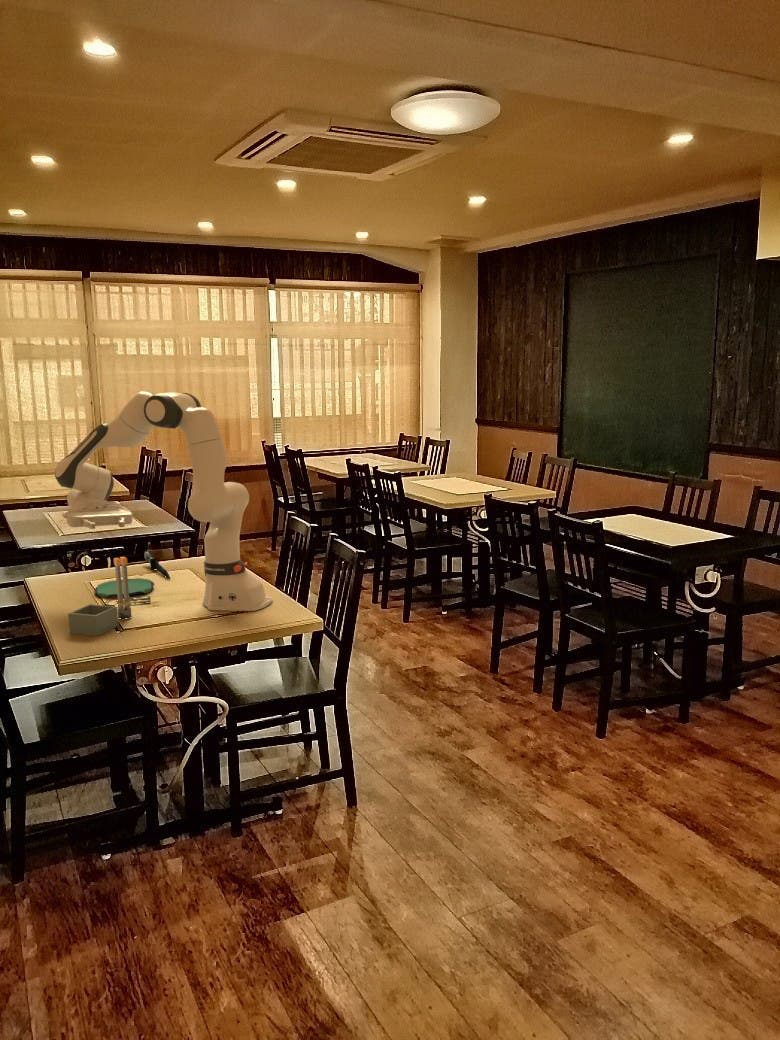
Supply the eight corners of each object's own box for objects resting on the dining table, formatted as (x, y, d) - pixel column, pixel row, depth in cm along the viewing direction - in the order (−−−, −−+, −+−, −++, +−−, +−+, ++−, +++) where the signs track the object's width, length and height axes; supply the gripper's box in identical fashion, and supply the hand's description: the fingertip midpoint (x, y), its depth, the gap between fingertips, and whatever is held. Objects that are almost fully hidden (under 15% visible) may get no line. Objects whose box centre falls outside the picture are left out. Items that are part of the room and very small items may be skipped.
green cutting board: (153, 581, 290) (153, 575, 289) (157, 605, 262) (156, 598, 261) (95, 587, 284) (94, 581, 283) (93, 612, 256) (92, 605, 255)
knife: (143, 561, 315) (143, 550, 314) (151, 560, 317) (150, 549, 315) (163, 586, 290) (162, 574, 288) (171, 585, 291) (171, 573, 290)
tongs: (129, 615, 249) (124, 556, 246) (133, 618, 246) (128, 558, 242) (116, 617, 247) (111, 557, 243) (120, 620, 244) (115, 560, 240)
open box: (118, 625, 239) (116, 606, 238) (97, 636, 230) (96, 616, 229) (91, 623, 242) (89, 604, 240) (69, 633, 233) (68, 613, 231)
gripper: (60, 504, 255) (75, 517, 245) (123, 501, 268) (139, 514, 258) (59, 522, 257) (73, 537, 247) (122, 519, 270) (138, 533, 260)
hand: (108, 525), depth 252 cm, fingers open, 8 cm apart
